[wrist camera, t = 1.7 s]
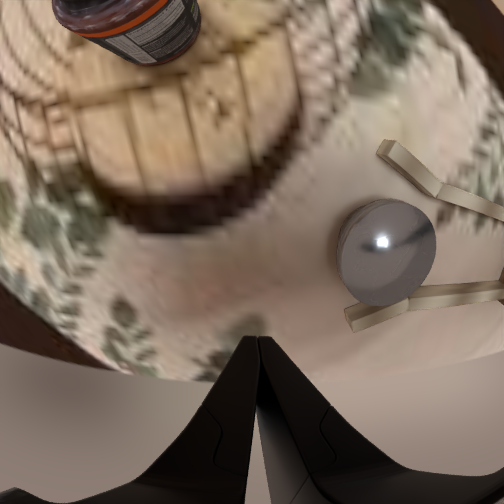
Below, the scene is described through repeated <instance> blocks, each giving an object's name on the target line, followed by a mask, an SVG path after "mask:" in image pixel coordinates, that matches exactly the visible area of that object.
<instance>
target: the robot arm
mask: <svg viewBox="0 0 504 504" xmlns="http://www.w3.org/2000/svg"><path fill="white" fill-rule="evenodd" d="M255 413H257V419H258V426H259V432H260V439H261V445H262V451H263V457H264V463H265V469H266V475H267V481H268V487H269V492H270V498H271V504H504V467H503V468H502V469H500V470H498V471H497V472H495V473H492V474H489V475H485V476H461V475H449V474H439V473H431V472H424V471H417V470H412V469H409V468H406V467H404V466H402V465H400V464H399V463H397V462H395V461H394V460H393V459H391V458H390V457H389V456H387V455H386V454H385V453H384V452H382V451H381V450H380V449H379V448H377V447H376V446H375V445H374V444H372V443H371V442H370V441H369V440H368V439H366V438H365V437H364V436H363V435H362V434H360V433H359V432H358V431H357V430H356V429H355V428H354V427H352V426H351V425H350V424H349V423H348V422H347V421H346V420H345V419H344V418H343V417H342V416H341V415H340V414H339V413H338V412H337V410H336V409H335V408H334V407H333V406H331V404H330V403H329V402H328V401H327V400H326V399H325V397H324V396H323V395H322V394H321V393H320V392H319V391H318V390H317V388H316V387H315V386H314V385H313V384H312V383H311V382H310V381H309V379H308V378H307V377H306V376H305V375H304V374H303V373H302V372H301V370H300V369H299V368H298V367H297V366H296V365H295V364H294V362H293V361H292V360H291V359H290V358H289V357H288V355H287V354H286V353H285V352H284V351H283V350H282V349H281V347H280V346H279V345H278V344H277V343H276V342H275V340H274V339H273V338H272V337H270V336H259V337H258V338H257V337H256V336H248V335H245V336H243V337H242V339H241V341H240V342H239V344H238V346H237V347H236V349H235V351H234V352H233V354H232V356H231V357H230V359H229V360H228V362H227V364H226V365H225V367H224V369H223V370H222V372H221V374H220V375H219V377H218V378H217V380H216V382H215V383H214V385H213V387H212V388H211V390H210V391H209V393H208V394H207V396H206V398H205V399H204V401H203V402H202V405H201V406H200V407H199V408H198V410H197V412H196V413H195V415H194V416H193V417H192V419H191V420H190V422H189V423H188V425H187V426H186V427H185V429H184V430H183V431H182V432H181V433H180V435H179V436H178V437H177V438H176V439H175V440H174V441H173V442H172V443H171V445H170V446H169V447H168V448H167V449H166V450H165V451H164V452H163V453H162V454H161V455H160V456H159V457H158V458H157V459H156V460H155V461H154V462H153V464H152V465H151V466H150V467H149V468H148V469H147V470H146V471H144V472H143V473H142V474H141V475H140V476H139V477H137V478H136V479H134V480H132V481H131V482H129V483H127V484H124V485H122V486H119V487H117V488H114V489H111V490H108V491H106V492H103V493H100V494H97V495H94V496H92V497H88V498H85V499H82V500H79V501H76V502H71V503H53V502H48V501H45V500H43V499H40V498H38V497H36V496H34V495H32V494H30V493H28V492H26V491H24V490H21V489H19V488H15V487H14V488H11V489H9V490H6V491H3V492H1V493H0V504H245V494H246V485H247V477H248V470H249V462H250V454H251V446H252V438H253V430H254V421H255Z"/></svg>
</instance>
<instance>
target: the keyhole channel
mask: <svg viewBox="0 0 504 504" xmlns="http://www.w3.org/2000/svg"><path fill="white" fill-rule="evenodd" d="M376 154H378V155H379V156H380V157H381V158H383V159H384V160H385V161H386V162H388V163H389V164H390V165H391V166H393V167H394V168H395V169H396V170H397V171H398V172H400V173H401V174H402V175H403V176H404V177H406V178H407V179H408V180H409V181H410V182H411V183H412V184H414V185H415V186H416V187H417V188H418V189H419V190H420V191H421V192H423V193H425V194H427V195H430V196H432V197H435V198H438V199H441V200H444V201H448V202H451V203H454V204H457V205H460V206H463V207H466V208H468V209H471V210H474V211H477V212H480V213H482V214H485V215H488V216H490V217H493V218H496V219H498V220H501V221H503V222H504V207H502V206H500V205H498V204H495V203H493V202H491V201H488V200H486V199H484V198H481V197H479V196H476V195H474V194H471V193H469V192H466V191H464V190H461V189H459V188H456V187H453V186H450V185H448V184H445V183H442V182H440V181H439V180H438V178H436V177H435V176H434V175H433V174H432V173H431V172H430V171H429V170H428V169H427V168H426V167H425V166H424V165H423V164H422V163H421V162H420V161H419V160H418V159H417V158H416V157H414V156H413V155H412V154H411V153H410V152H409V151H408V150H407V149H406V148H404V147H403V146H402V145H401V144H400V143H399V142H397V141H395V140H384V141H383V142H382V144H381V146H380V147H379V149H378V151H377V152H376ZM493 300H498V301H499V302H501V303H502V304H503V305H504V268H503V271H502V274H501V277H500V280H499V281H488V282H476V283H464V284H450V285H435V286H419V287H418V288H417V289H416V290H415V291H414V292H413V293H412V294H410V295H409V296H408V297H406V298H405V299H403V300H401V301H399V302H397V303H394V304H391V305H386V306H372V305H368V304H365V303H363V302H362V303H359V304H357V305H354V306H351V307H349V308H346V309H344V310H345V314H346V319H347V322H348V323H349V325H350V327H351V329H352V331H353V333H355V332H358V331H360V330H363V329H365V328H368V327H370V326H373V325H375V324H378V323H380V322H383V321H385V320H387V319H390V318H392V317H394V316H397V315H399V314H401V313H403V312H406V311H414V310H424V309H433V308H442V307H450V306H458V305H465V304H473V303H480V302H486V301H493Z"/></svg>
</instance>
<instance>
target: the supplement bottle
mask: <svg viewBox="0 0 504 504" xmlns="http://www.w3.org/2000/svg"><path fill="white" fill-rule="evenodd" d="M52 9H53V12H54V15H55V17H56V19H57V20H58V21H59V23H60V24H62V26H64V27H65V28H67V29H69V30H70V31H73V32H74V33H76V34H79V35H81V36H82V37H84V38H86V39H88V40H90V41H92V42H94V43H96V44H98V45H100V46H101V47H103V48H105V49H107V50H109V51H111V52H113V53H114V54H117V55H118V56H120V57H122V58H123V59H125V60H127V61H130V62H132V63H135V64H138V65H157V64H162V63H165V62H168V61H170V60H172V59H174V58H176V57H178V56H179V55H180V54H182V53H183V52H184V51H185V50H187V49H188V48H189V47H190V45H191V44H192V43H193V42H194V40H195V39H196V37H197V34H198V32H199V29H200V24H201V16H200V9H199V6H198V3H197V0H52Z"/></svg>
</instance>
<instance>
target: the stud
mask: <svg viewBox="0 0 504 504" xmlns="http://www.w3.org/2000/svg"><path fill="white" fill-rule="evenodd" d="M435 252H436V236H435V231H434V228H433V226H432V223H431V222H430V220H429V218H428V217H427V216H426V215H425V214H424V213H423V212H422V211H421V210H420V209H418V208H416V207H414V206H412V205H410V204H408V203H406V202H404V201H401V200H398V199H382V200H378V201H375V202H372V203H370V204H368V205H365V206H362V207H360V208H358V209H356V210H355V211H353V212H352V213H351V214H350V215H349V216H348V217H347V218H346V220H345V221H344V223H343V225H342V227H341V230H340V233H339V242H338V246H337V252H336V263H337V269H338V272H339V275H340V277H341V279H342V281H343V282H344V284H345V285H346V287H347V288H348V290H349V292H350V293H351V294H352V295H353V296H354V297H355V298H356V299H357V300H359V301H361V302H363V303H365V304H368V305H372V306H386V305H391V304H394V303H397V302H399V301H401V300H403V299H405V298H406V297H408V296H409V295H410V294H412V293H413V292H414V291H415V290H416V289H417V288H418V287H419V286H420V285H421V284H422V283H423V281H424V280H425V278H426V277H427V275H428V273H429V271H430V269H431V267H432V264H433V262H434V258H435Z"/></svg>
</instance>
